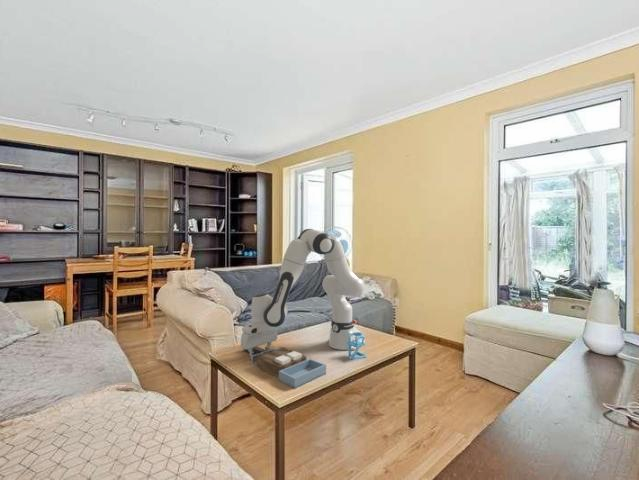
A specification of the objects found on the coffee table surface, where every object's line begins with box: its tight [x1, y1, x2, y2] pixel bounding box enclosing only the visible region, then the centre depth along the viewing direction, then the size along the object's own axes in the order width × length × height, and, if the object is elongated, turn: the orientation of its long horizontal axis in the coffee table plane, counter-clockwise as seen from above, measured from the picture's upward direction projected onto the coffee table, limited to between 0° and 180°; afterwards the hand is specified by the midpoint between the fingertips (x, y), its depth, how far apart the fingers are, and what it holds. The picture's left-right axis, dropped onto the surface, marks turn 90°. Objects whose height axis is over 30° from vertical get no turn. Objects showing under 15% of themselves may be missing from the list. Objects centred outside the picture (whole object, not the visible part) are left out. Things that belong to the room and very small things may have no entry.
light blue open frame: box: [347, 332, 368, 360], centre depth 163 cm, size 8×8×12 cm
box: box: [278, 358, 327, 389], centre depth 139 cm, size 19×10×4 cm, turn 138°
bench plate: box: [256, 347, 307, 379], centre depth 148 cm, size 16×16×5 cm
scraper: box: [243, 346, 280, 366], centre depth 162 cm, size 18×16×4 cm
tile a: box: [287, 350, 303, 360], centre depth 148 cm, size 5×5×2 cm
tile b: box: [275, 355, 291, 365], centre depth 143 cm, size 5×5×2 cm
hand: (259, 353), depth 160 cm, fingers open, 8 cm apart
